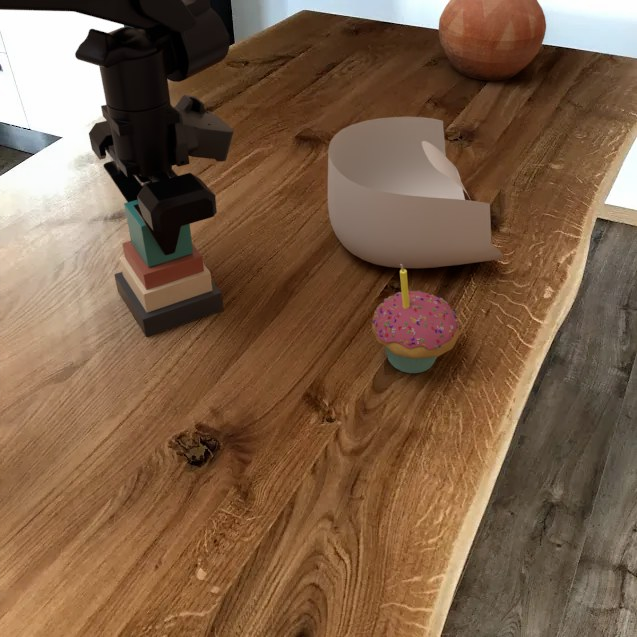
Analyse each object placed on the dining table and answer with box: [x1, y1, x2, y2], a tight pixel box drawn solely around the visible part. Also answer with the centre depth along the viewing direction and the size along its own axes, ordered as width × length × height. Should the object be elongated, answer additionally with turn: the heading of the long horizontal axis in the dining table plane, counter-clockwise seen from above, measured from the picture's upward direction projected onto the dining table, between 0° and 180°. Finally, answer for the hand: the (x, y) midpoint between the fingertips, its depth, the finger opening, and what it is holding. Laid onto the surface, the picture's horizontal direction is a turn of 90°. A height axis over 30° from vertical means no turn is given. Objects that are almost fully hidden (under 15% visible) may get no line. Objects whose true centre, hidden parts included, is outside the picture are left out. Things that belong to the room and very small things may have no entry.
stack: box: [114, 240, 224, 338], centre depth 80 cm, size 9×9×7 cm
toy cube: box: [123, 200, 193, 267], centre depth 76 cm, size 5×5×5 cm
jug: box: [438, 0, 547, 82], centre depth 127 cm, size 18×18×20 cm
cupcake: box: [371, 264, 460, 374], centre depth 71 cm, size 9×8×12 cm
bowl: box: [327, 116, 504, 269], centre depth 88 cm, size 20×19×12 cm
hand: (160, 240), depth 77 cm, fingers closed on toy cube, 5 cm apart
